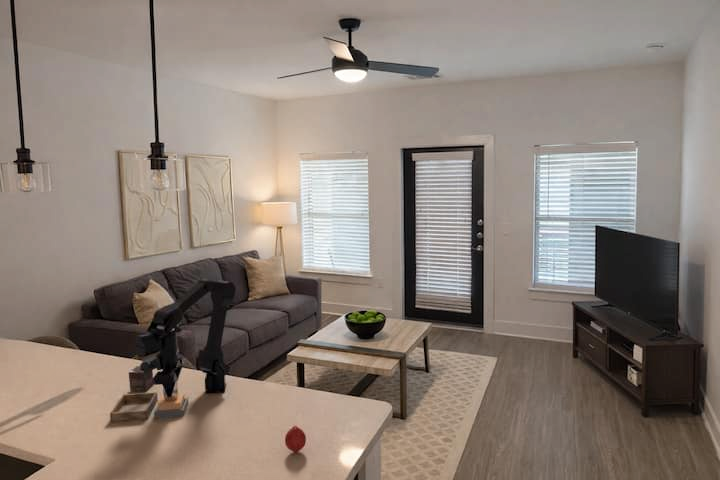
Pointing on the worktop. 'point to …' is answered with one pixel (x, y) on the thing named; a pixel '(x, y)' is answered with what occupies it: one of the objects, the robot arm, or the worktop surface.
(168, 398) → the cylinder
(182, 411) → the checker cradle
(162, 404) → the pad
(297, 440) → the onion
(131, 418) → the tray
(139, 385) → the box
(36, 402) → the worktop surface
